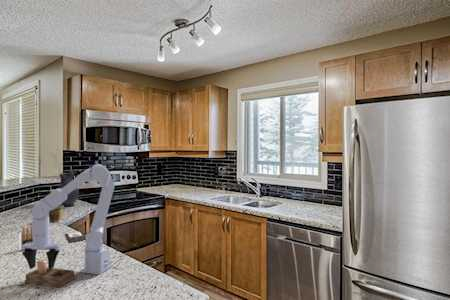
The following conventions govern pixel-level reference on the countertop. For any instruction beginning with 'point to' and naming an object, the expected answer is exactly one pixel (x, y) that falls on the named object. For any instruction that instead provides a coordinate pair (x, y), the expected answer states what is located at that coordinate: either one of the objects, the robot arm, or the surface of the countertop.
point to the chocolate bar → (75, 236)
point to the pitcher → (73, 195)
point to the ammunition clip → (27, 236)
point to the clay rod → (41, 267)
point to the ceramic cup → (56, 214)
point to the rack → (50, 277)
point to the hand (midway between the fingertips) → (41, 267)
